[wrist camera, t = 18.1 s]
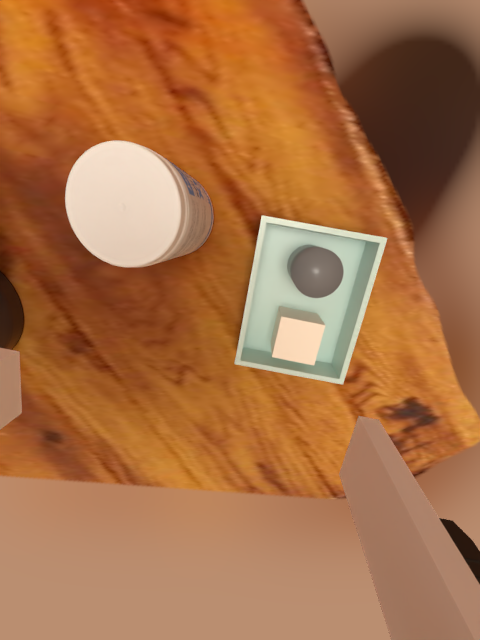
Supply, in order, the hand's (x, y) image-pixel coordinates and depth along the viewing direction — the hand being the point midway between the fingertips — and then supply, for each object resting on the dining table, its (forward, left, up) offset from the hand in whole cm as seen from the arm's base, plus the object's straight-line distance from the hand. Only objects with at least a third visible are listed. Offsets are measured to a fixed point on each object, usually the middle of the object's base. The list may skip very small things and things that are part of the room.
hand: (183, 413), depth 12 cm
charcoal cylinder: (+8, +4, -28) cm, 29 cm away
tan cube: (+8, -4, -28) cm, 30 cm away
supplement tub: (-9, +7, -29) cm, 31 cm away
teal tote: (+8, 0, -29) cm, 30 cm away
